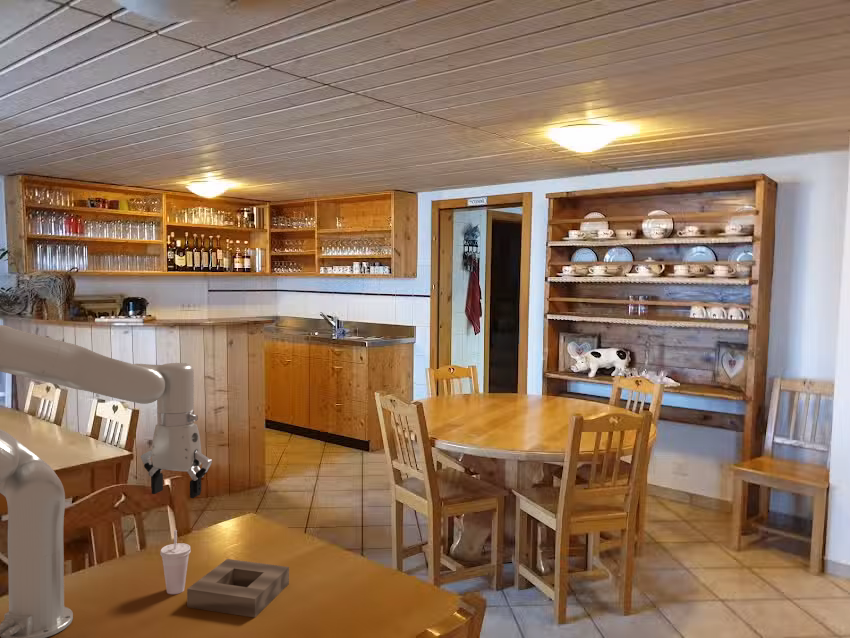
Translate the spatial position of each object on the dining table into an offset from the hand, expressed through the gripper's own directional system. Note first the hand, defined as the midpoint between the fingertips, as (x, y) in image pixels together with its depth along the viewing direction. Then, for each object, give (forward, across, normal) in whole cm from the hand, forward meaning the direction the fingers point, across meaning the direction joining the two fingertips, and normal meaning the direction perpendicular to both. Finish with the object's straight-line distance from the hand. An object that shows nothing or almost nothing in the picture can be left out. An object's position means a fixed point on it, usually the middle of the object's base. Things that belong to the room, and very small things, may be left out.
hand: (176, 494), depth 146 cm
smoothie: (+22, 0, 0) cm, 22 cm away
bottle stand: (+22, -15, -2) cm, 27 cm away
